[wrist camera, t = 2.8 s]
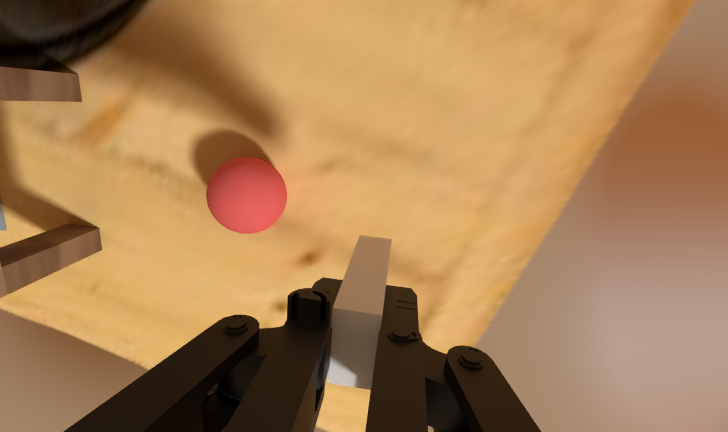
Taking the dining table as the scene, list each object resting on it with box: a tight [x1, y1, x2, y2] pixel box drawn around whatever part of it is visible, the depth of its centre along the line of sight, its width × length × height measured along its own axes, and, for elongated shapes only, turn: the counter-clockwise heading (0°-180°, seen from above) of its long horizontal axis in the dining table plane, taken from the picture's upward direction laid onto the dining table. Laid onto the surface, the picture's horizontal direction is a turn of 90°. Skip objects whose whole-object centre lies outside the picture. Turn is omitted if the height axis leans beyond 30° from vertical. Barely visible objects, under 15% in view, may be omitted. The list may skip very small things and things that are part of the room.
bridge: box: [0, 67, 102, 298], centre depth 26 cm, size 3×14×9 cm, turn 175°
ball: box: [206, 157, 287, 234], centre depth 26 cm, size 6×6×6 cm
